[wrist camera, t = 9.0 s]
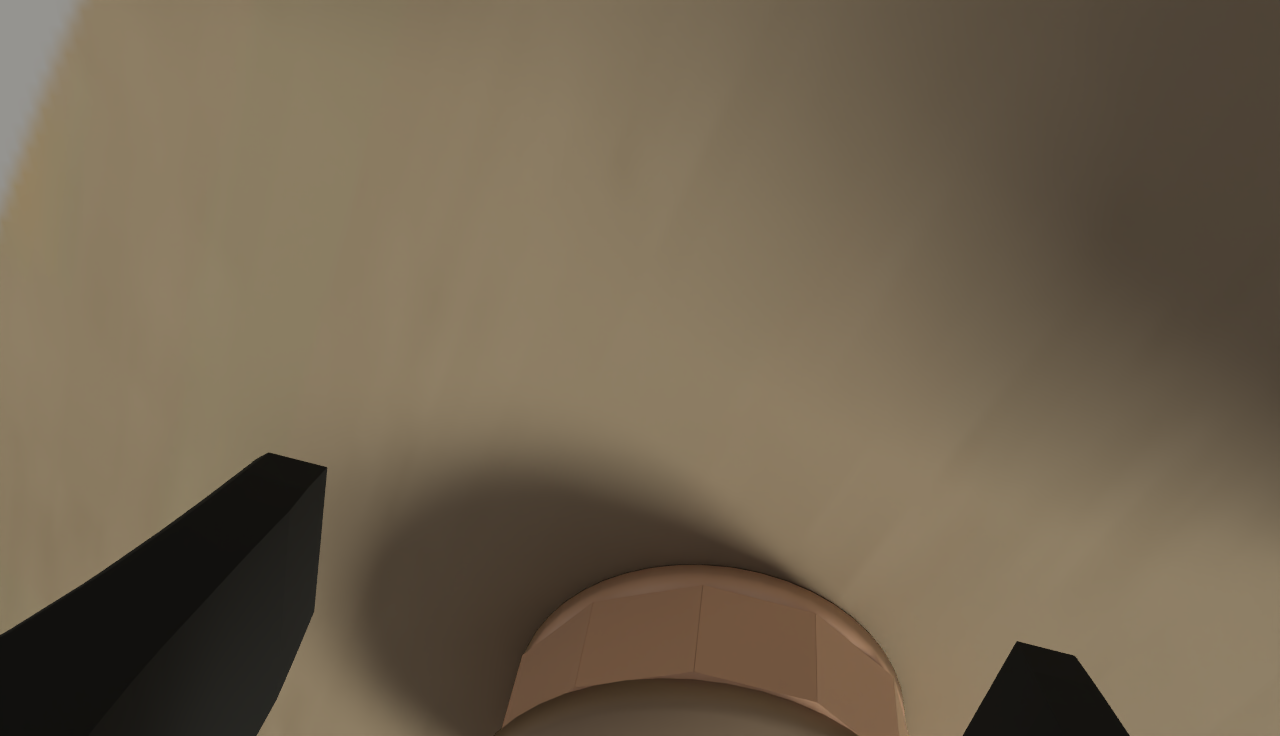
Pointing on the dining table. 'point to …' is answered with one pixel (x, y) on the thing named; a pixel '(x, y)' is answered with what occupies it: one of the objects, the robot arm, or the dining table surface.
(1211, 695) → the dining table surface
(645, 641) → the bowl
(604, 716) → the lid
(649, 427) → the dining table surface
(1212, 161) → the dining table surface
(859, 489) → the dining table surface
